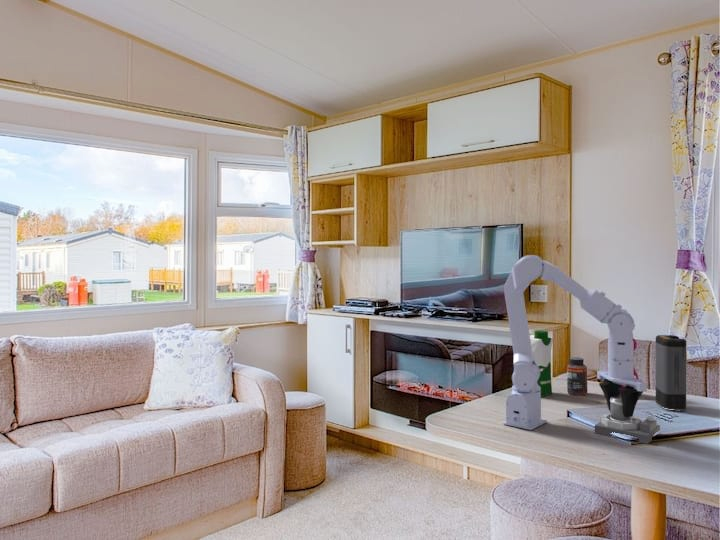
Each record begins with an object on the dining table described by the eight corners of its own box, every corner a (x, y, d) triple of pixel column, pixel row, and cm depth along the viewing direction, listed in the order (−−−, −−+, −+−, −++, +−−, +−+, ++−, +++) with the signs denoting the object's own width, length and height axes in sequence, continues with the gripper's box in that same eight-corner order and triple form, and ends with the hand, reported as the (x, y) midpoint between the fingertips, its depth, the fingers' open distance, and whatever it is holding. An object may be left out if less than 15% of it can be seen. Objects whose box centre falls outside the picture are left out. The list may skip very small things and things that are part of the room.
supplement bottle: (584, 391, 177) (584, 356, 177) (590, 396, 171) (589, 359, 171) (564, 391, 178) (564, 356, 177) (570, 396, 172) (569, 359, 172)
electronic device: (688, 412, 153) (688, 340, 152) (664, 411, 154) (664, 339, 154) (676, 403, 162) (676, 335, 161) (654, 402, 163) (654, 334, 163)
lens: (634, 424, 135) (634, 400, 135) (617, 425, 134) (618, 401, 134) (622, 418, 140) (622, 395, 139) (606, 420, 139) (606, 396, 138)
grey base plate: (647, 444, 128) (647, 425, 128) (594, 433, 136) (594, 415, 136) (660, 433, 135) (660, 415, 135) (609, 423, 144) (609, 407, 144)
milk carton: (539, 398, 169) (539, 333, 169) (515, 392, 177) (514, 330, 176) (556, 393, 175) (556, 330, 174) (532, 388, 182) (531, 328, 181)
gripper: (657, 363, 131) (657, 420, 131) (613, 353, 145) (613, 404, 145) (632, 365, 129) (632, 423, 129) (590, 354, 143) (590, 407, 143)
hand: (620, 413), depth 137 cm, fingers closed on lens, 4 cm apart
